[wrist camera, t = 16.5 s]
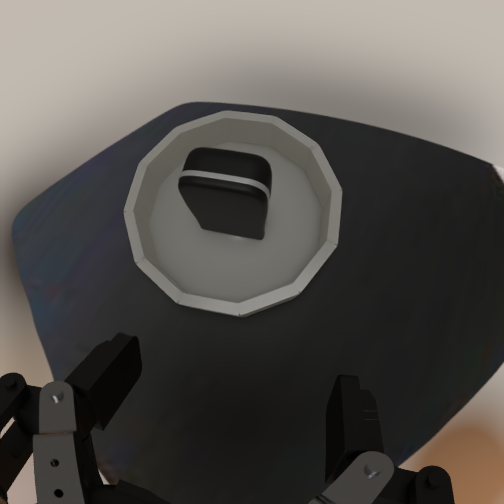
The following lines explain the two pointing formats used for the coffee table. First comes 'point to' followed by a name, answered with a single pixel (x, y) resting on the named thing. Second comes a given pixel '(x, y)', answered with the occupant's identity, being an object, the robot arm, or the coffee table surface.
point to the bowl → (225, 245)
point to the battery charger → (227, 191)
